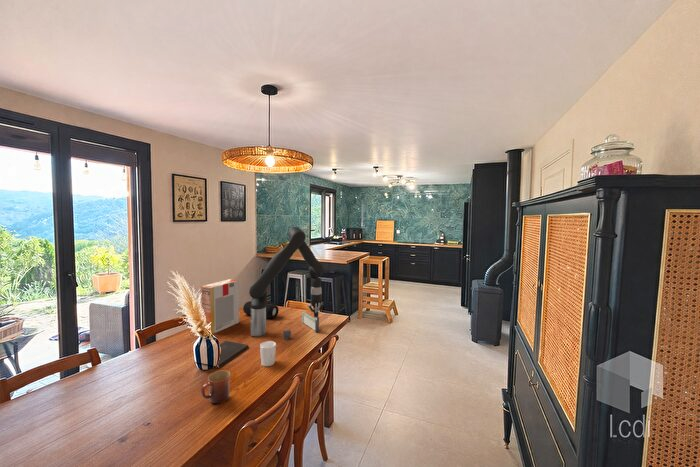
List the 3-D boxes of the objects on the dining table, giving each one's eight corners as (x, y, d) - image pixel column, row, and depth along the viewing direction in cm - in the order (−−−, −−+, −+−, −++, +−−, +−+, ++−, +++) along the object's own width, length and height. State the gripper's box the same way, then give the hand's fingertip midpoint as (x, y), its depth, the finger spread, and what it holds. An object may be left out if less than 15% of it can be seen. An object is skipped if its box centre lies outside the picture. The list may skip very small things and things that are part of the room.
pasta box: (230, 320, 205) (230, 279, 203) (239, 322, 202) (238, 280, 200) (202, 332, 185) (201, 286, 182) (211, 334, 181) (210, 287, 179)
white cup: (279, 361, 151) (279, 342, 150) (268, 368, 144) (268, 349, 143) (267, 357, 154) (267, 339, 153) (256, 364, 147) (256, 345, 146)
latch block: (284, 339, 176) (284, 331, 176) (283, 337, 179) (283, 330, 178) (290, 338, 178) (290, 330, 177) (289, 337, 180) (289, 329, 180)
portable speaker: (279, 316, 216) (279, 303, 215) (271, 320, 206) (271, 307, 206) (251, 311, 224) (250, 299, 223) (242, 316, 215) (242, 302, 214)
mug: (222, 390, 125) (222, 367, 125) (235, 397, 121) (235, 374, 120) (195, 405, 115) (195, 381, 115) (208, 414, 111) (208, 388, 110)
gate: (317, 330, 190) (317, 319, 189) (314, 331, 189) (314, 320, 188) (304, 321, 205) (304, 311, 204) (301, 322, 204) (301, 312, 203)
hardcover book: (193, 363, 148) (193, 359, 148) (225, 344, 170) (225, 340, 170) (219, 369, 143) (219, 364, 143) (248, 348, 165) (248, 344, 165)
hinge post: (315, 333, 187) (316, 318, 186) (314, 331, 189) (315, 316, 188) (319, 332, 187) (319, 317, 187) (318, 331, 190) (318, 316, 189)
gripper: (310, 295, 193) (310, 320, 194) (327, 292, 201) (327, 316, 202) (305, 293, 199) (305, 317, 200) (321, 290, 207) (321, 313, 208)
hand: (316, 317), depth 201 cm, fingers closed
